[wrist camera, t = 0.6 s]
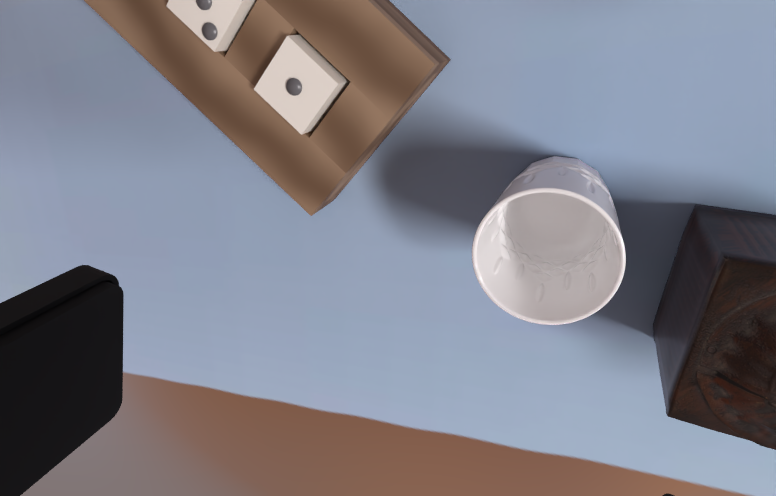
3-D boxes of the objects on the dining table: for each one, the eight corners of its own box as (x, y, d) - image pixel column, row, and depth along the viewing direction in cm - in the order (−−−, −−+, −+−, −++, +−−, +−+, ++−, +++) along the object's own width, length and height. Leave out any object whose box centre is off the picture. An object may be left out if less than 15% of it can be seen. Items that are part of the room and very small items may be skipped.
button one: (307, 34, 37) (286, 35, 35) (355, 79, 37) (337, 84, 35) (275, 84, 40) (252, 89, 37) (319, 127, 40) (300, 135, 37)
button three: (221, -49, 37) (192, -54, 35) (268, -4, 37) (244, -5, 35) (192, 6, 39) (164, 5, 37) (238, 49, 39) (212, 51, 37)
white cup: (493, 246, 41) (464, 309, 32) (507, 140, 38) (480, 178, 29) (606, 265, 39) (608, 339, 30) (631, 154, 35) (641, 200, 27)
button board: (143, -236, 37) (95, -262, 33) (450, 59, 37) (435, 64, 34) (74, -47, 44) (29, -52, 40) (334, 199, 44) (311, 216, 40)
